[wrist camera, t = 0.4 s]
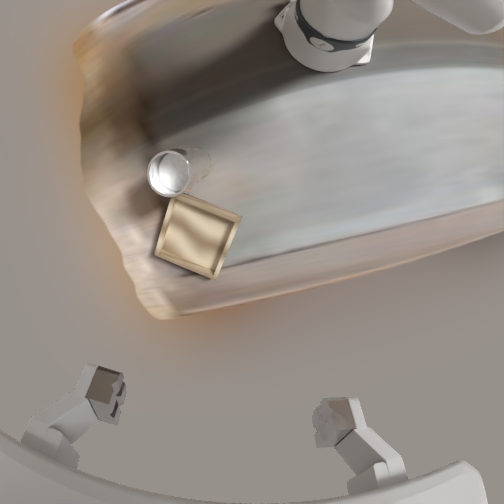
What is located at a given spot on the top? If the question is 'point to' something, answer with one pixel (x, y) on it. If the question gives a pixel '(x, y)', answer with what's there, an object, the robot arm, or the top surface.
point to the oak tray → (196, 235)
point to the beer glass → (177, 170)
